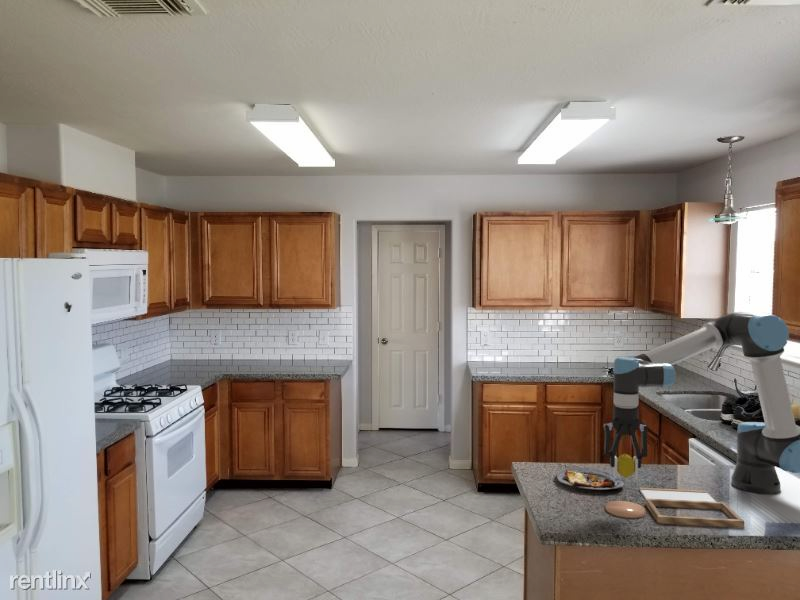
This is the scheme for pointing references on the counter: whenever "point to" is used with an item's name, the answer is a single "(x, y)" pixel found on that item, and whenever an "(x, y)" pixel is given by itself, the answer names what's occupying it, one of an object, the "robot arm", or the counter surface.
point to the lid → (676, 494)
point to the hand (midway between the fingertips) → (625, 477)
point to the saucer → (625, 509)
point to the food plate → (577, 479)
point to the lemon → (625, 465)
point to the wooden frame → (732, 522)
